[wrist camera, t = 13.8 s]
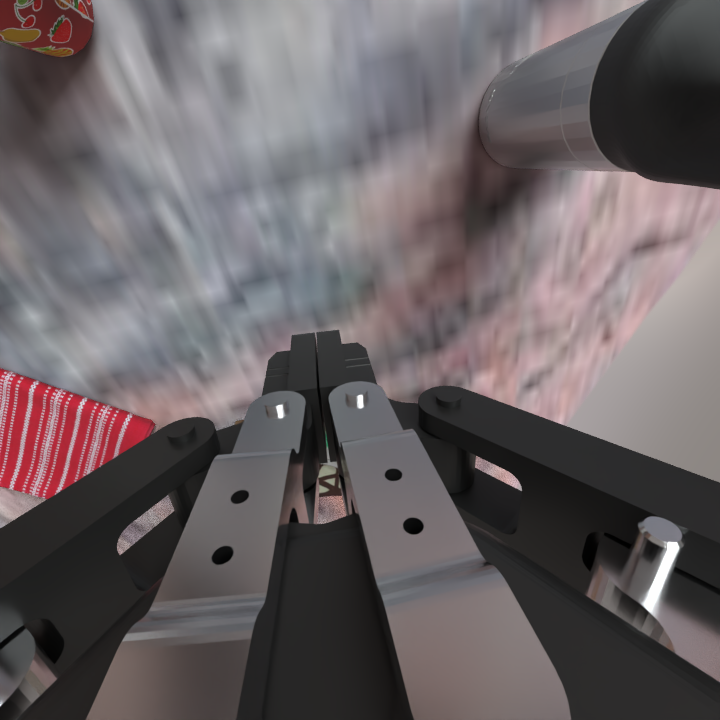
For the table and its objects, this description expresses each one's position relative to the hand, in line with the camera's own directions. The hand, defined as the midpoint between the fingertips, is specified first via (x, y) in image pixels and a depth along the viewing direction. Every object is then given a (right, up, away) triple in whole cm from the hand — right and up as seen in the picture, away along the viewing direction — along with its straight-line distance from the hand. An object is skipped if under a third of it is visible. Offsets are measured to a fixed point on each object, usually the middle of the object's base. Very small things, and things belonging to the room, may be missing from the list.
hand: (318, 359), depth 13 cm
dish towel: (-38, -10, +37) cm, 53 cm away
